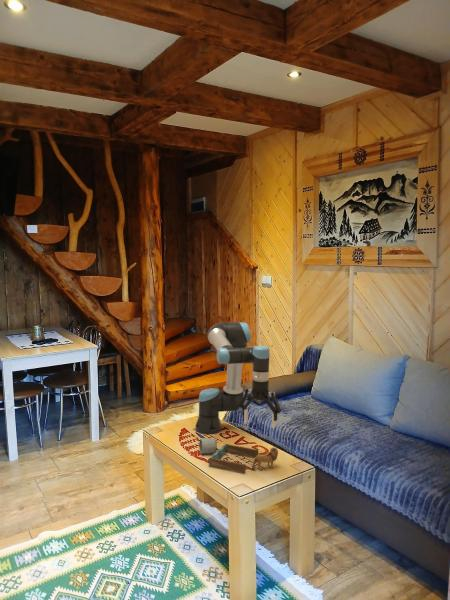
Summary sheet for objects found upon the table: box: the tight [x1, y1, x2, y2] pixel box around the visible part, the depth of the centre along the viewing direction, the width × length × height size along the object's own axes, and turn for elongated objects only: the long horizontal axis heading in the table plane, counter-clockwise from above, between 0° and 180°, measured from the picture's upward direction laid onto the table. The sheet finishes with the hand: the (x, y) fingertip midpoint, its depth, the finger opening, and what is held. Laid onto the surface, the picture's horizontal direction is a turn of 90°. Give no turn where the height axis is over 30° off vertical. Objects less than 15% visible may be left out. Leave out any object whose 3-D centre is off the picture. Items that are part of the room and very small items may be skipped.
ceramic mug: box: [198, 437, 218, 455], centre depth 241 cm, size 11×8×8 cm
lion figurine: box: [250, 446, 279, 471], centre depth 223 cm, size 15×5×9 cm, turn 119°
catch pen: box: [208, 443, 259, 474], centre depth 229 cm, size 20×18×4 cm
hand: (259, 425), depth 218 cm, fingers open, 13 cm apart
